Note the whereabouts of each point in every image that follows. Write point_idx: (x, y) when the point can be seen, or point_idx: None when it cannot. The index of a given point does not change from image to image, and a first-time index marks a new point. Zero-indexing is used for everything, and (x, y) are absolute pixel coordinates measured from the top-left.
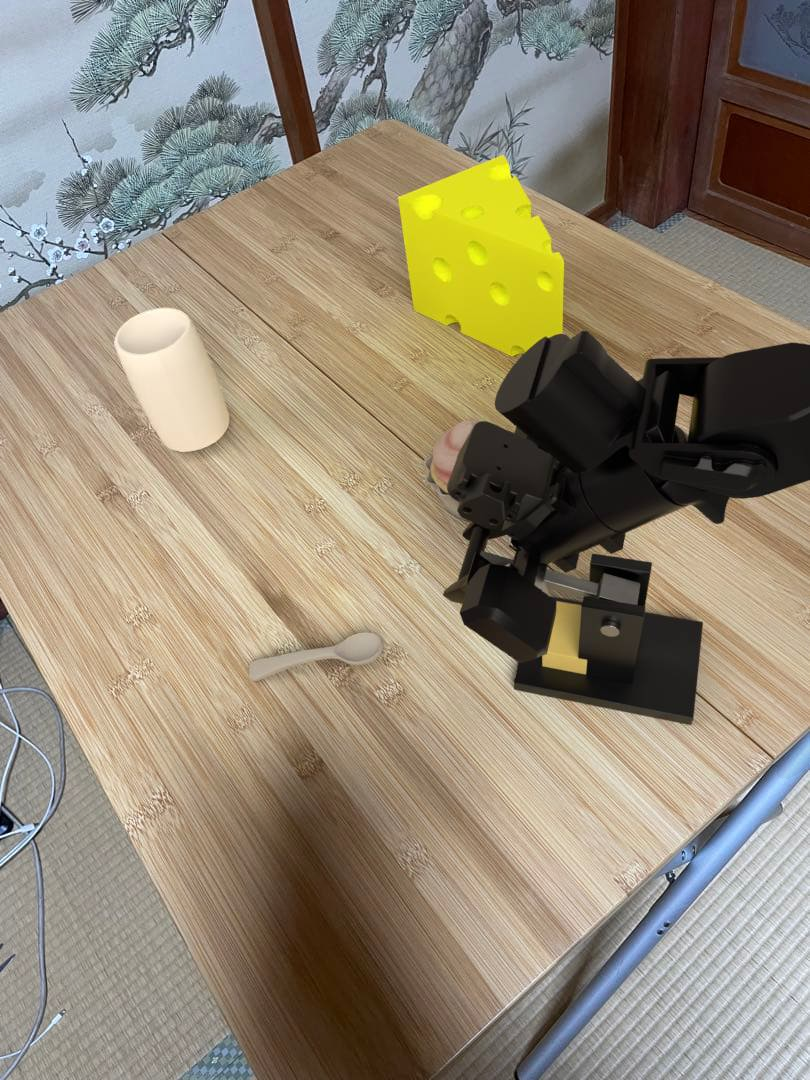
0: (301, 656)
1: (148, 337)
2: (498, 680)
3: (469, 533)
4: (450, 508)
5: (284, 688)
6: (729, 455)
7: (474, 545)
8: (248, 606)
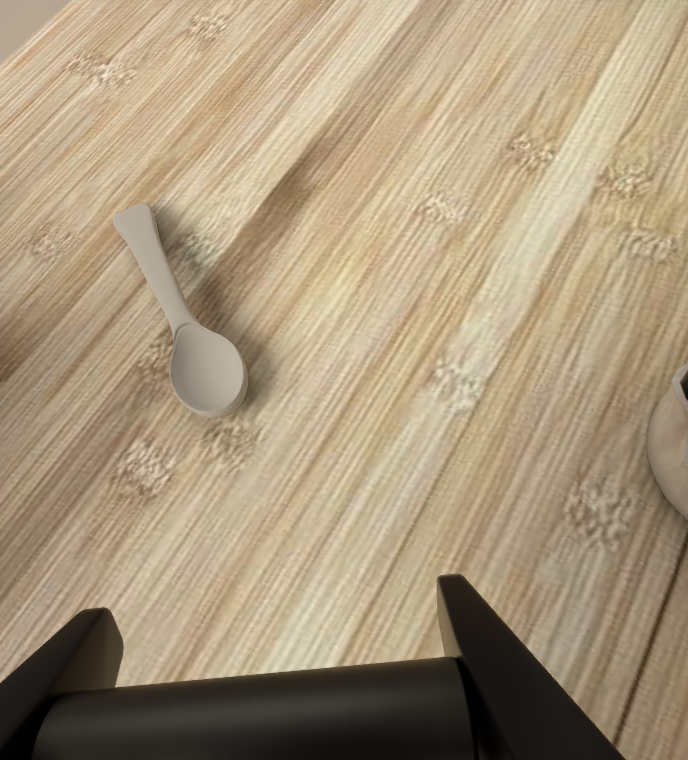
0: (153, 272)
1: None
2: None
3: (446, 622)
4: (658, 416)
5: (118, 279)
6: None
7: (305, 740)
8: (268, 151)
